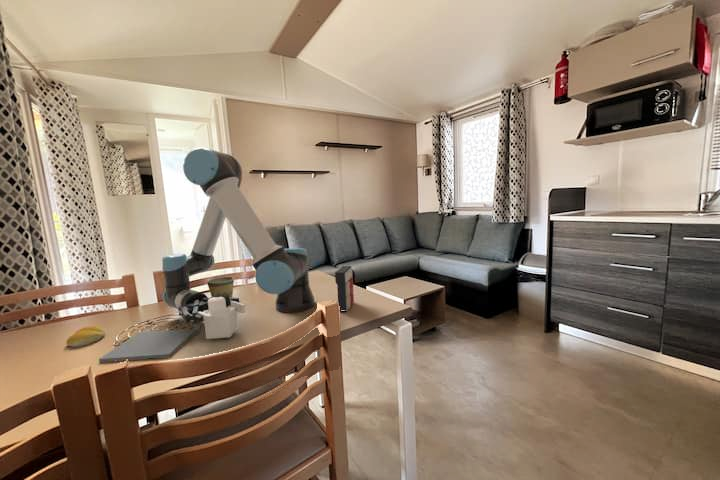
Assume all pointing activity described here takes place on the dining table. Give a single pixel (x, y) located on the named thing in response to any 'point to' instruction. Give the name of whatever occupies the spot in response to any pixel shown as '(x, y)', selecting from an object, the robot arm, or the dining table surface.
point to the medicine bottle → (221, 317)
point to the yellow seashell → (85, 336)
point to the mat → (150, 345)
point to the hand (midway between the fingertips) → (227, 314)
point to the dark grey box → (344, 287)
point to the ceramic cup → (221, 286)
